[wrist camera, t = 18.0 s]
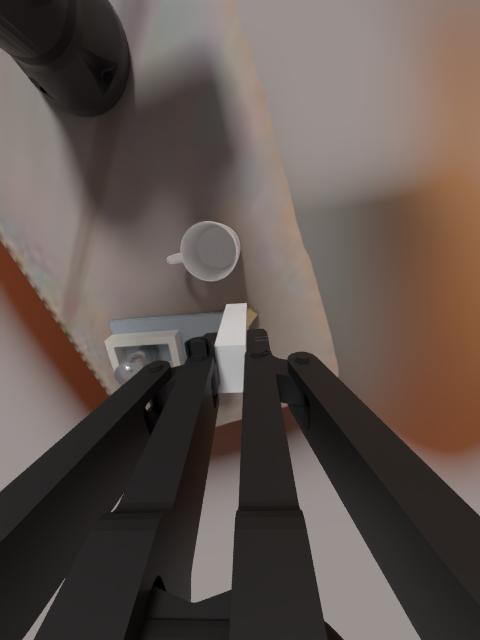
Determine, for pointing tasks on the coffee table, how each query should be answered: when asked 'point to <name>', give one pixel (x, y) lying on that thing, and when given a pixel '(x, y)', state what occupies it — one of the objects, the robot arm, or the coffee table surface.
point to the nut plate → (159, 335)
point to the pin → (136, 362)
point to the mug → (208, 251)
